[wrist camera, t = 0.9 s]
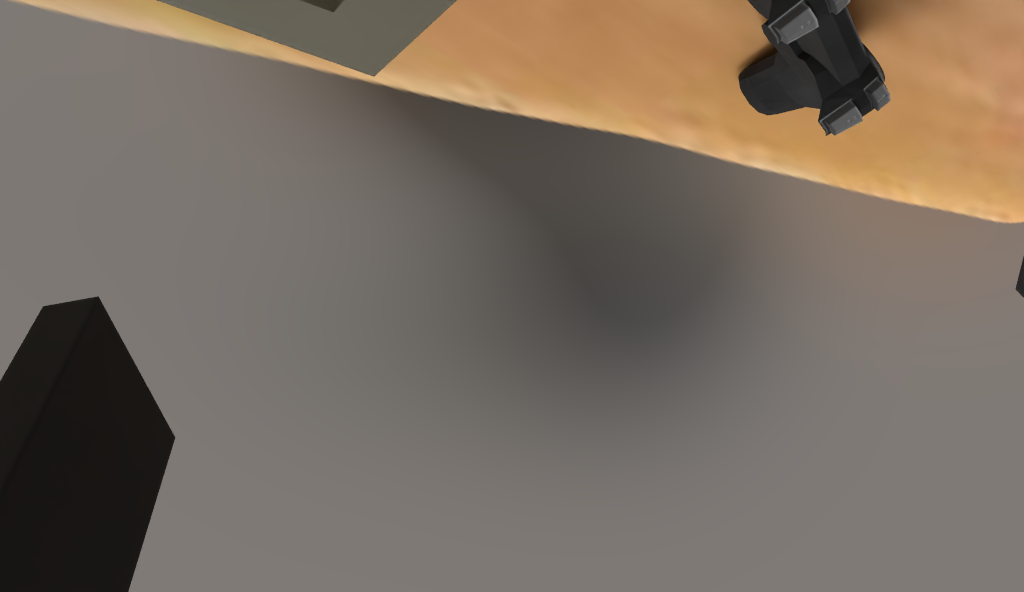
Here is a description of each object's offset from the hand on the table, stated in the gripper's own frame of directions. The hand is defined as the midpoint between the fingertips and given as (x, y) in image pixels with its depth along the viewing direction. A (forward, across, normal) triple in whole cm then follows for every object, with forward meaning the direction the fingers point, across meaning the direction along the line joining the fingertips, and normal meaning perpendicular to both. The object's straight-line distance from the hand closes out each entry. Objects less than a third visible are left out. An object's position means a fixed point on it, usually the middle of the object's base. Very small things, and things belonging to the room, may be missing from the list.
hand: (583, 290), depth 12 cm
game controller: (+40, +17, -10) cm, 45 cm away
